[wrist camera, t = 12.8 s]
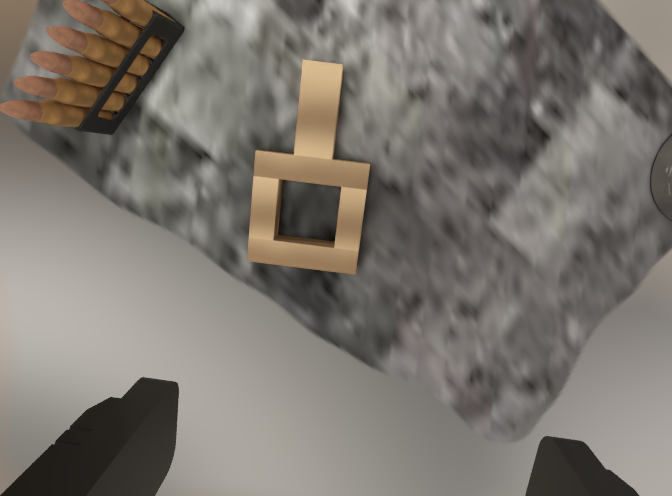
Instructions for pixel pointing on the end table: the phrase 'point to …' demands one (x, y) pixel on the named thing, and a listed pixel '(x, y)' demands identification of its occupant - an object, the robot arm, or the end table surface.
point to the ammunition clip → (98, 66)
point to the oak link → (309, 181)
